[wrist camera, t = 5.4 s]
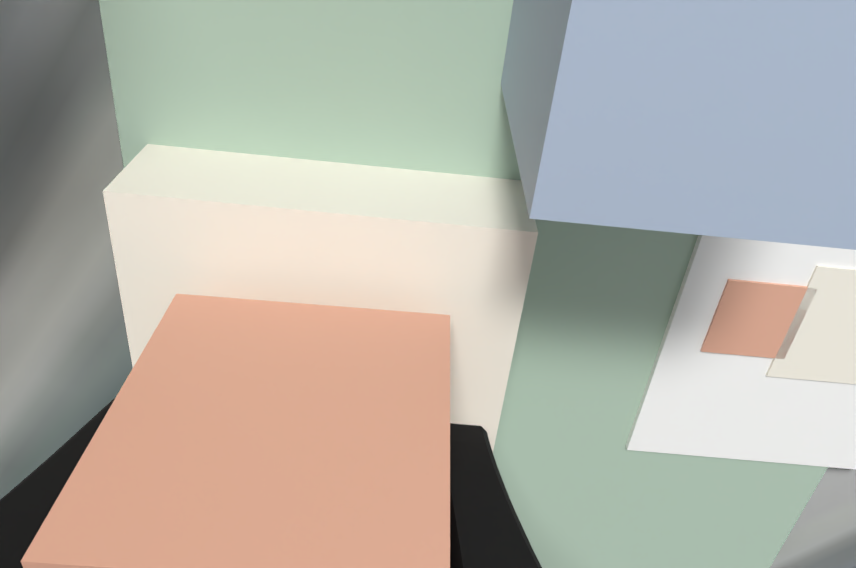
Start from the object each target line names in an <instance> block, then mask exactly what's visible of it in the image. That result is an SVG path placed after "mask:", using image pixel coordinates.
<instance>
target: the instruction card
mask: <svg viewBox="0 0 856 568" xmlns="http://www.w3.org/2000/svg"><path fill="white" fill-rule="evenodd" d="M626 448H627V450H634V451H645V452H657V453H669V454H681V455H692V456H704V457H716V458H728V459H739V460H751V461H763V462H775V463H786V464H798V465H810V466H821V467H833V468H845V469H856V250H852V249H841V248H831V247H820V246H810V245H799V244H789V243H779V242H768V241H758V240H747V239H737V238H726V237H716V236H706V235H698V238H697V241H696V243H695V246H694V249H693V252H692V255H691V258H690V261H689V264H688V266H687V269H686V272H685V275H684V278H683V281H682V284H681V287H680V290H679V292H678V295H677V298H676V301H675V304H674V307H673V310H672V313H671V315H670V318H669V321H668V324H667V327H666V330H665V333H664V336H663V338H662V341H661V344H660V347H659V350H658V353H657V356H656V359H655V362H654V364H653V367H652V370H651V373H650V376H649V379H648V382H647V385H646V387H645V390H644V393H643V396H642V399H641V402H640V405H639V408H638V410H637V413H636V416H635V419H634V422H633V425H632V428H631V431H630V433H629V436H628V439H627V442H626Z"/></svg>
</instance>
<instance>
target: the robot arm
mask: <svg viewBox="0 0 856 568" xmlns="http://www.w3.org/2000/svg"><path fill="white" fill-rule="evenodd" d="M114 400H115V399H113V400H112V401H111V402H110V403H109V404H108V405H107V406H105V407H104V408H103V409H102V410H101V411H100V412H99V413H98V414H97V415H96V416H94V417H93V418H92V419H91V420H90V421H89V422H88V423H87V424H86V425H85V426H84V427H82V428H81V429H80V430H79V431H78V432H77V433H76V434H75V435H74V436H73V437H71V438H70V439H69V440H68V441H67V442H66V443H65V444H64V445H63V446H62V447H60V448H59V449H58V450H57V451H56V452H55V453H54V454H53V455H52V456H50V457H49V458H48V459H47V460H46V461H45V462H44V463H43V464H41V465H40V466H39V467H38V468H37V469H36V470H34V471H33V472H32V473H31V474H30V475H29V476H28V477H26V478H25V479H24V480H23V481H22V482H21V483H19V484H18V485H17V486H16V487H15V488H14V489H13V490H11V491H10V492H9V493H8V494H7V495H6V496H4V497H3V498H2V499H1V500H0V568H23V566H22V564H21V560H22V558H23V556H24V555H25V553H26V551H27V549H28V548H29V546H30V544H31V543H32V541H33V539H34V537H35V536H36V534H37V532H38V531H39V529H40V527H41V525H42V524H43V522H44V520H45V519H46V517H47V515H48V513H49V512H50V510H51V508H52V506H53V505H54V503H55V501H56V500H57V498H58V496H59V494H60V493H61V491H62V489H63V488H64V486H65V484H66V482H67V481H68V479H69V477H70V476H71V474H72V472H73V470H74V469H75V467H76V465H77V463H78V462H79V460H80V458H81V457H82V455H83V453H84V451H85V450H86V448H87V446H88V445H89V443H90V441H91V439H92V438H93V436H94V434H95V433H96V431H97V429H98V427H99V426H100V424H101V422H102V420H103V419H104V417H105V415H106V414H107V412H108V410H109V408H110V407H111V405H112V403H113V402H114ZM450 568H542V567H541V565H540V563H539V561H538V559H537V557H536V555H535V553H534V551H533V549H532V547H531V544H530V542H529V540H528V538H527V536H526V534H525V531H524V529H523V527H522V525H521V523H520V521H519V518H518V516H517V514H516V512H515V509H514V507H513V505H512V502H511V500H510V498H509V495H508V493H507V490H506V488H505V485H504V483H503V480H502V478H501V475H500V472H499V469H498V467H497V464H496V461H495V458H494V455H493V452H492V449H491V445H490V442H489V438H488V434H487V431H486V430H485V429H484V428H483V427H482V426H476V425H465V424H453V423H450Z"/></svg>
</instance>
